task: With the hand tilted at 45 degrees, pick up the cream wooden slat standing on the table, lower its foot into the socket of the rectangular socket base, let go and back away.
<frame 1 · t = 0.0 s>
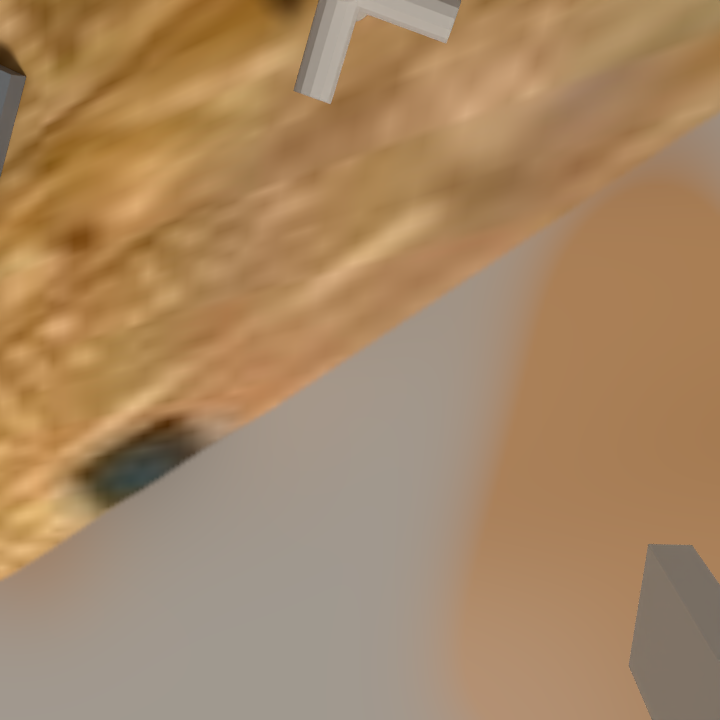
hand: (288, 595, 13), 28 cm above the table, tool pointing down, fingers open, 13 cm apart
pipe connector: (353, 2, 34), on the table
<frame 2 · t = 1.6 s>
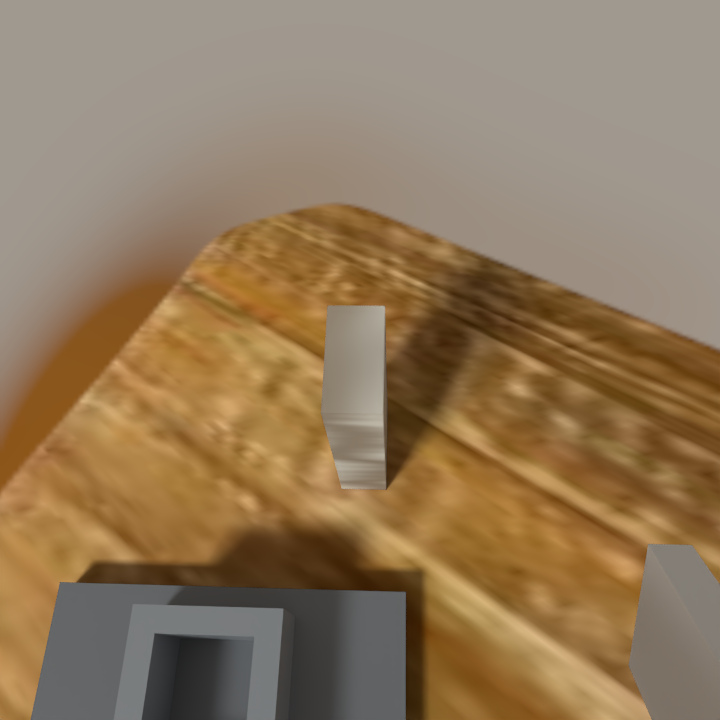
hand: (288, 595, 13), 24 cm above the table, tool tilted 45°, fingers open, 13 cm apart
rectangular socket base: (223, 717, 33), on the table
slat: (365, 446, 39), on the table
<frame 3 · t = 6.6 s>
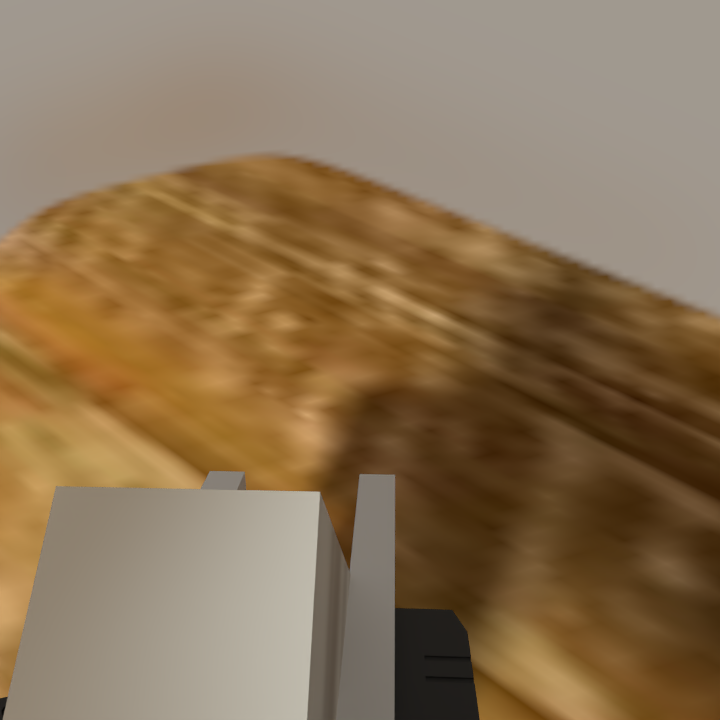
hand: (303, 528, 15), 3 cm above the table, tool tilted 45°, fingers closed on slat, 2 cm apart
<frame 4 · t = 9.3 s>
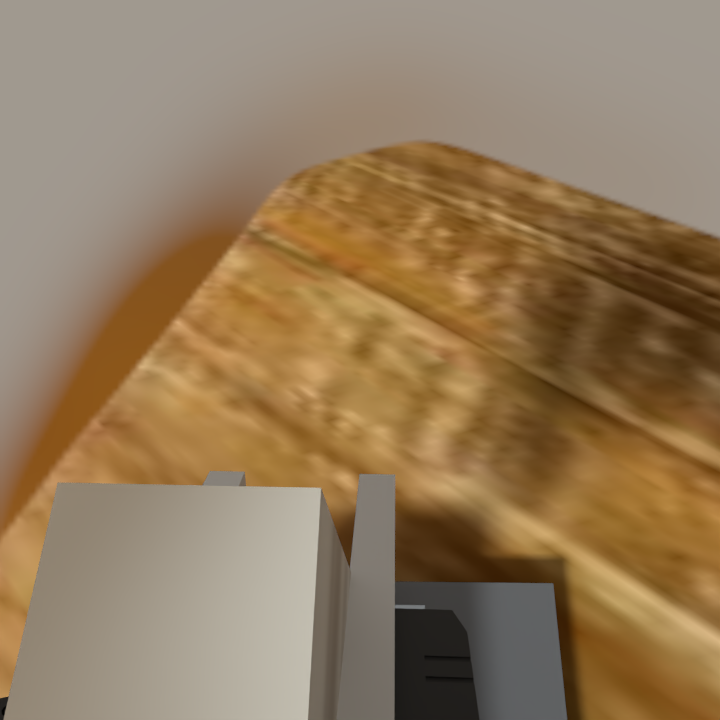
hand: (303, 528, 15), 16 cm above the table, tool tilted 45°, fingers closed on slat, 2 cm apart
slat: (309, 719, 16), point 13 cm above the table, touching gripper
when the fingers open (7 cm above the table, at t = 12.2 s): slat drops 2 cm, resting on rectangular socket base.
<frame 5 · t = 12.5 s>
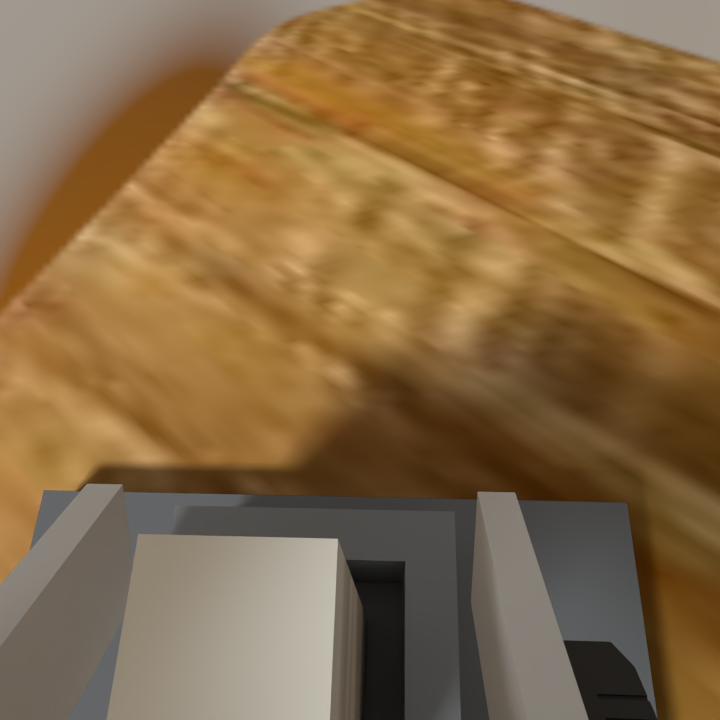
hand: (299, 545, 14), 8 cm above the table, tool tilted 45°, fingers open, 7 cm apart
rectangular socket base: (323, 714, 19), on the table
slat: (318, 716, 18), point 1 cm above the table, touching rectangular socket base
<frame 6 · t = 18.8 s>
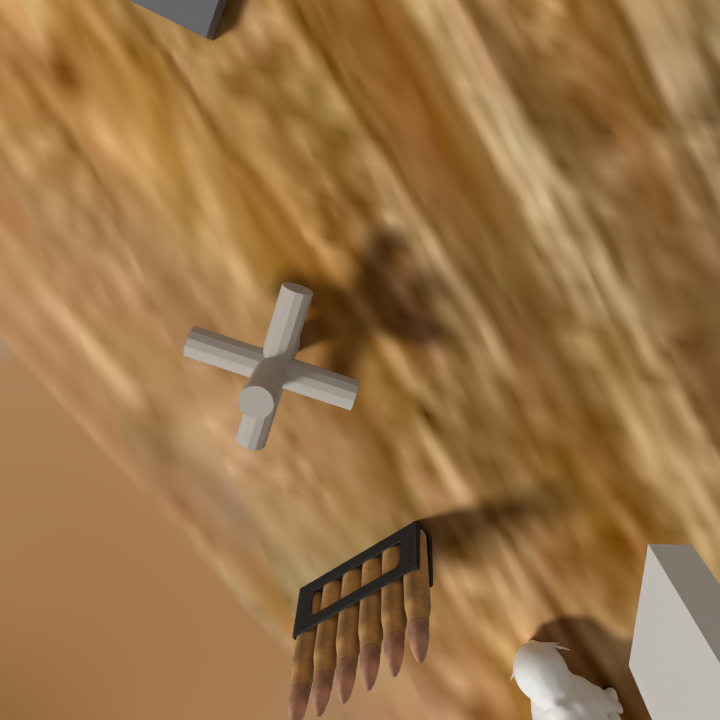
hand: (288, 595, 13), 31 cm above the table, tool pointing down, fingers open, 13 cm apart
ammunition clip: (364, 562, 49), on the table
pipe connector: (286, 341, 44), on the table
penguin figurine: (559, 676, 52), on the table
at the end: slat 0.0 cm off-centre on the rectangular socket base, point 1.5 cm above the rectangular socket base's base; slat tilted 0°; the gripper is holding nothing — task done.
